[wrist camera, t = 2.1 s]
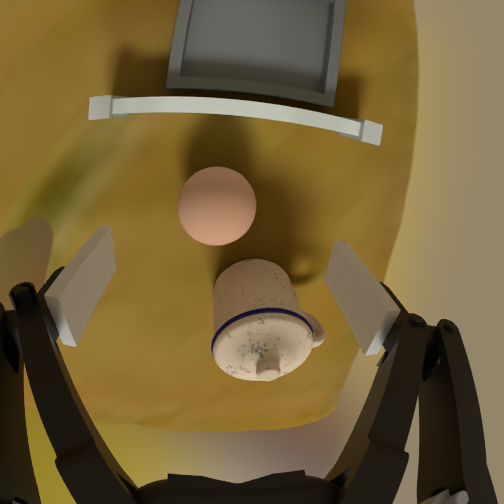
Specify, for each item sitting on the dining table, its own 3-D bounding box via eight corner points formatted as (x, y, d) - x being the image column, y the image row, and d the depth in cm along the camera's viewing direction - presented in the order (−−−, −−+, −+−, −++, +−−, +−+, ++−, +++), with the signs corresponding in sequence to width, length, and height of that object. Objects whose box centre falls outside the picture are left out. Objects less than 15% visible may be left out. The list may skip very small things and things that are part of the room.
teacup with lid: (202, 312, 31) (201, 397, 21) (224, 245, 27) (231, 328, 17) (294, 328, 34) (318, 404, 24) (327, 272, 30) (370, 346, 20)
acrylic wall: (110, 117, 20) (88, 120, 16) (111, 98, 19) (89, 97, 15) (354, 138, 23) (379, 145, 19) (357, 121, 22) (383, 125, 18)
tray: (169, 89, 19) (165, 87, 18) (189, -22, 14) (187, -29, 12) (326, 107, 22) (333, 107, 20) (338, 1, 16) (345, -4, 15)
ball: (181, 224, 26) (172, 258, 20) (183, 158, 23) (172, 174, 17) (247, 228, 27) (255, 262, 21) (255, 163, 24) (267, 180, 18)
